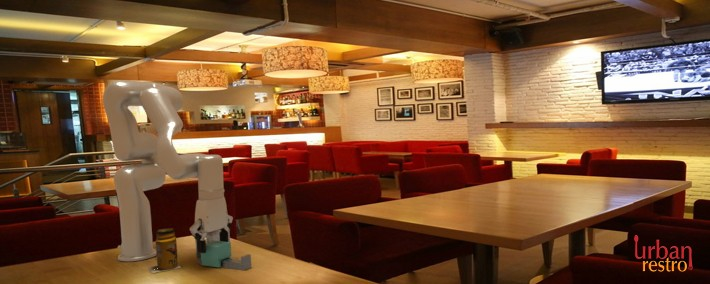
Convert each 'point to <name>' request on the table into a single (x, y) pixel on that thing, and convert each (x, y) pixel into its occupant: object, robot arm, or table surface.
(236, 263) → the rail
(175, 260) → the condiment
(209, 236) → the frame
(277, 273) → the table surface
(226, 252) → the carriage
